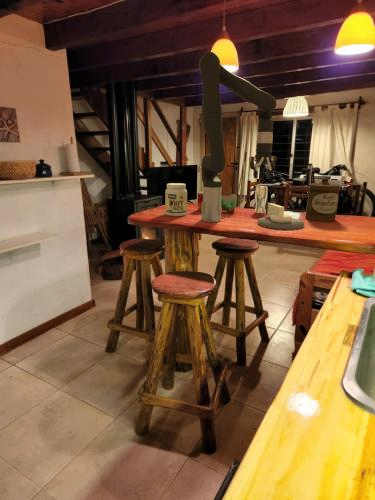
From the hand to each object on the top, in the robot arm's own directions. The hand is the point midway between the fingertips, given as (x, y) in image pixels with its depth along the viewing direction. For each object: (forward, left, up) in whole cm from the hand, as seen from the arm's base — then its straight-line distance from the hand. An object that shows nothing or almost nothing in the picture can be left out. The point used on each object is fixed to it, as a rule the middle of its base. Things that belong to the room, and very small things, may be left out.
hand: (261, 178), depth 157 cm
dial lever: (+7, -5, -20) cm, 22 cm away
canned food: (-18, +35, -22) cm, 45 cm away
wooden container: (+35, -3, -22) cm, 41 cm away
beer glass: (+12, +21, -22) cm, 33 cm away
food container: (-5, +25, -22) cm, 34 cm away
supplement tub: (-37, +27, -22) cm, 51 cm away
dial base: (+7, -10, -22) cm, 25 cm away
